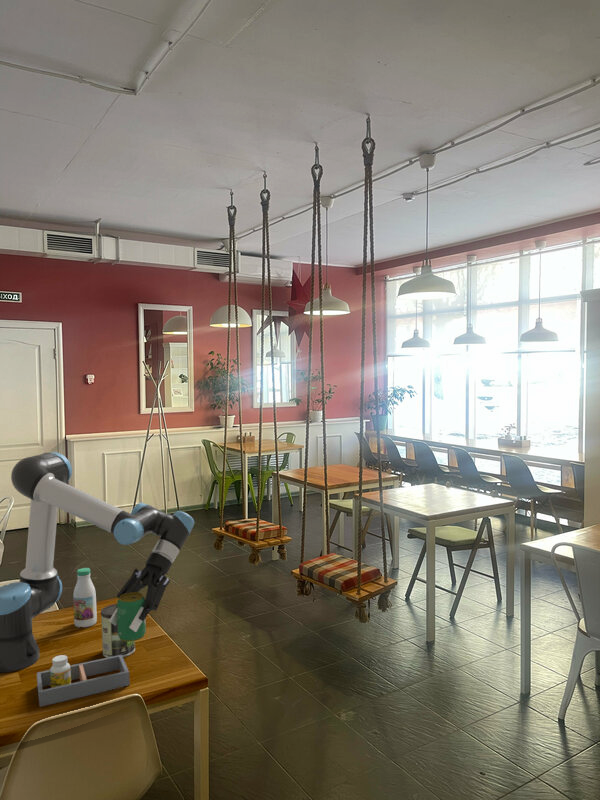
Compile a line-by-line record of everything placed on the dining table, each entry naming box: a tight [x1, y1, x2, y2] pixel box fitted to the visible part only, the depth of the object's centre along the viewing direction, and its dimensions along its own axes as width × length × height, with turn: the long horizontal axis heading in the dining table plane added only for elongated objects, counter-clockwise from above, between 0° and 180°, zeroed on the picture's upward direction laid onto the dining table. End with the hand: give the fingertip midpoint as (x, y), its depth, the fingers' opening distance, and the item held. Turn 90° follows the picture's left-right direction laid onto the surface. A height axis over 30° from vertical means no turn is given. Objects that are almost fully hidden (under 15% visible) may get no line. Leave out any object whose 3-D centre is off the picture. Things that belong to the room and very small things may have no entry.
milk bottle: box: [72, 567, 98, 628], centre depth 222 cm, size 8×8×20 cm
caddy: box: [36, 655, 131, 708], centre depth 177 cm, size 12×24×4 cm, turn 116°
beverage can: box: [116, 592, 147, 642], centre depth 181 cm, size 8×8×12 cm
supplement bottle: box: [49, 654, 72, 688], centre depth 174 cm, size 5×5×10 cm
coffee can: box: [100, 603, 136, 658], centre depth 199 cm, size 10×10×14 cm
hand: (122, 626), depth 178 cm, fingers closed on beverage can, 8 cm apart
